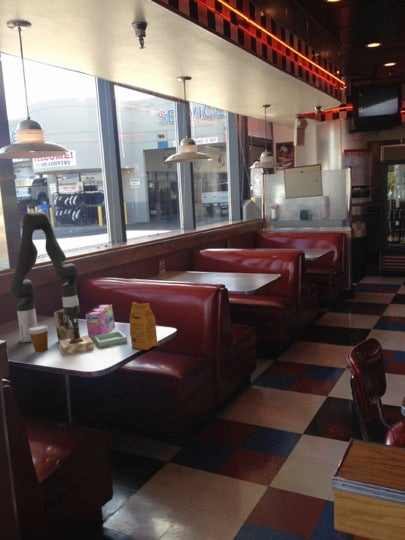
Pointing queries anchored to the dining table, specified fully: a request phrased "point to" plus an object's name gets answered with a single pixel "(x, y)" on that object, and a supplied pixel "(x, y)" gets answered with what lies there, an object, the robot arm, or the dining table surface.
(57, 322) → the coffee box
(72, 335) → the pin
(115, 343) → the tray
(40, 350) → the disposable coffee cup
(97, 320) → the gum box
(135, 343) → the coffee package
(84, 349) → the wooden square frame
